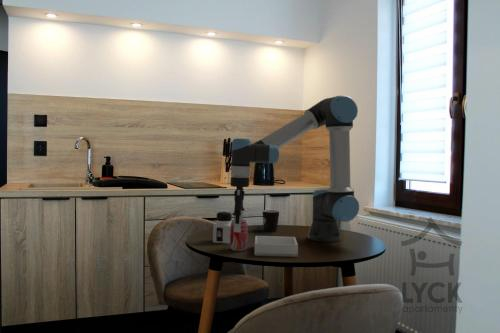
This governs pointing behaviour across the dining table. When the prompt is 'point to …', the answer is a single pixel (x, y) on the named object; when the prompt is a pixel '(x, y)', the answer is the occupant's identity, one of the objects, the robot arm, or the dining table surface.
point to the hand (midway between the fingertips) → (238, 229)
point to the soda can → (239, 237)
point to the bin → (276, 246)
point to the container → (222, 228)
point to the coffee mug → (270, 220)
